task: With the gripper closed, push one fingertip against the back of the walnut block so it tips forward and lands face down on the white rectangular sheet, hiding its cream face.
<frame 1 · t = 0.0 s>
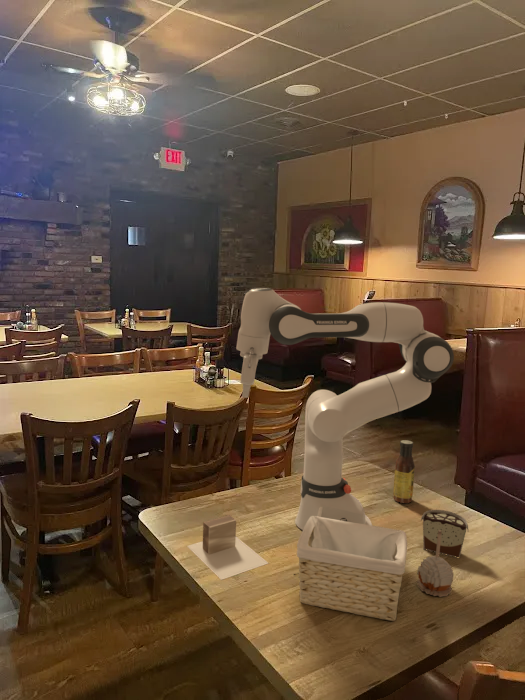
hand: (245, 392, 155), 39 cm above the table, tool pointing down, fingers open, 8 cm apart
candy apple: (433, 589, 132), on the table
food container: (442, 549, 151), on the table
storage basket: (349, 596, 128), on the table
sauce bottle: (402, 500, 180), on the table
white rectangular sheet: (226, 555, 142), on the table
walnut block: (219, 547, 145), resting on white rectangular sheet
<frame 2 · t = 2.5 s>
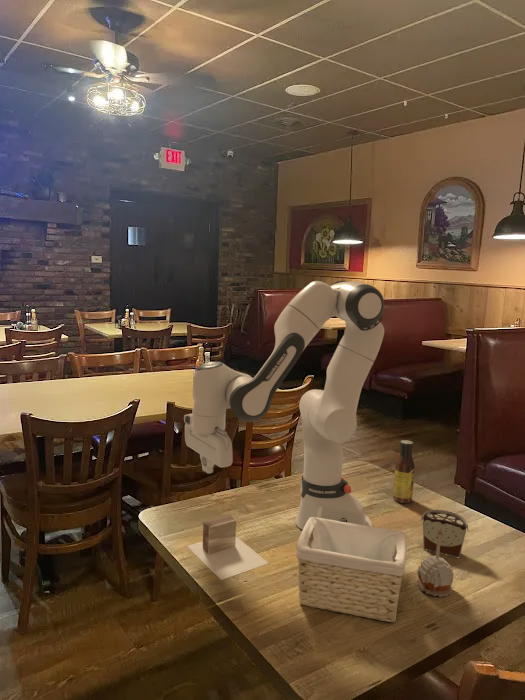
hand: (207, 471, 148), 19 cm above the table, tool pointing down, fingers closed
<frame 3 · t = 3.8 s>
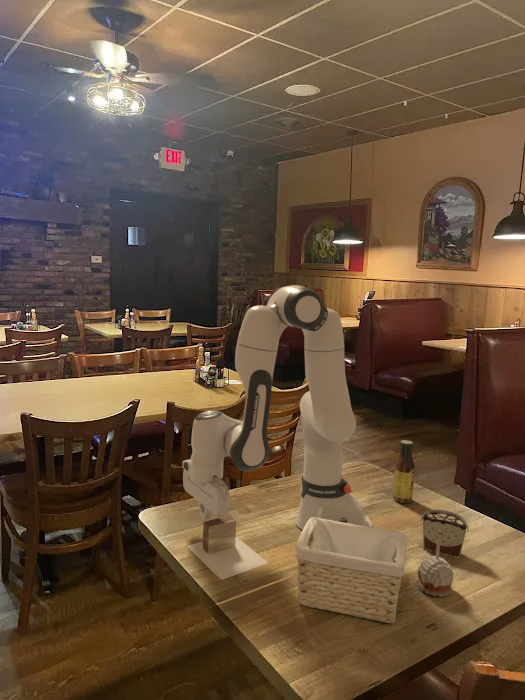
hand: (205, 517, 150), 6 cm above the table, tool pointing down, fingers closed
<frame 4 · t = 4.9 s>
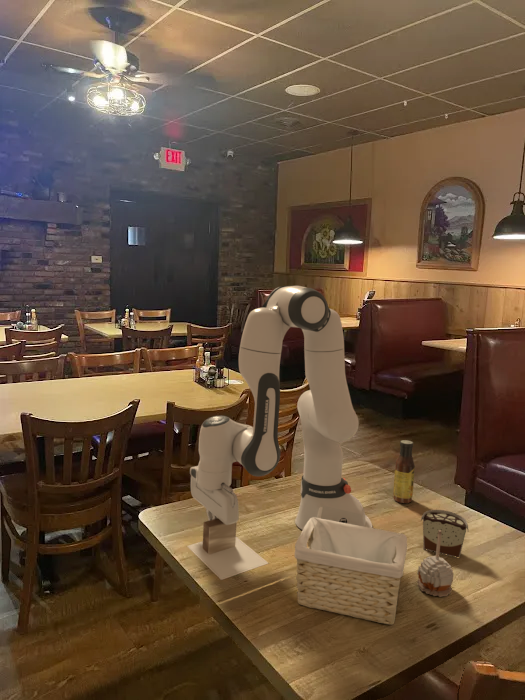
hand: (213, 525, 147), 5 cm above the table, tool pointing down, fingers closed
walnut block: (219, 547, 145), resting on white rectangular sheet, touching gripper
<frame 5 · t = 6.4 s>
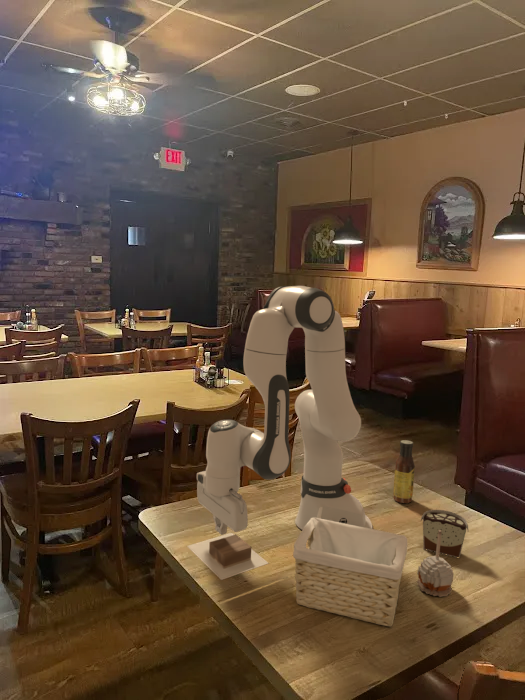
hand: (220, 532, 144), 5 cm above the table, tool pointing down, fingers closed
walnut block: (222, 544, 144), point 2 cm above the table, tilted 90°, touching white rectangular sheet
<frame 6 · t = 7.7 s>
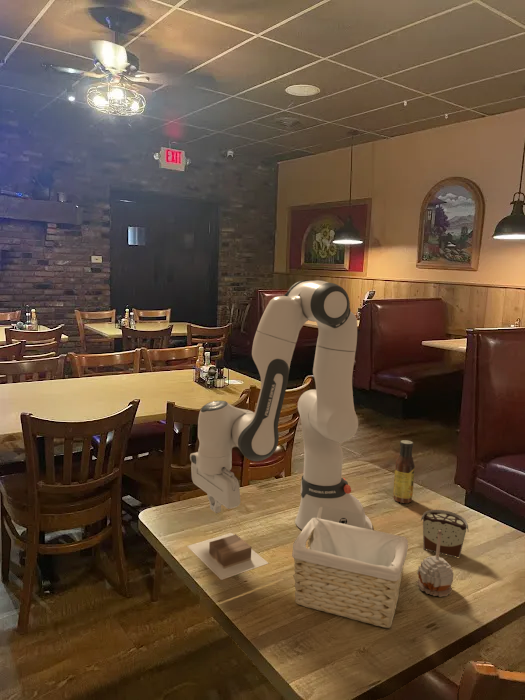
hand: (215, 510, 148), 9 cm above the table, tool pointing down, fingers closed
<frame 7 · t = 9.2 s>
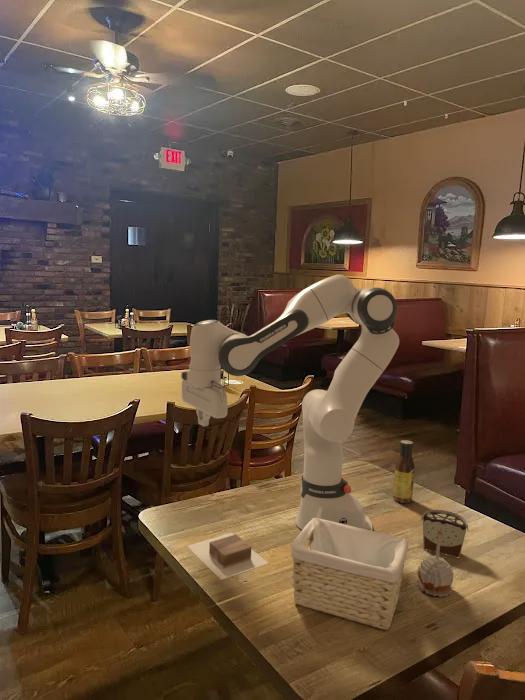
hand: (203, 425, 156), 29 cm above the table, tool pointing down, fingers closed
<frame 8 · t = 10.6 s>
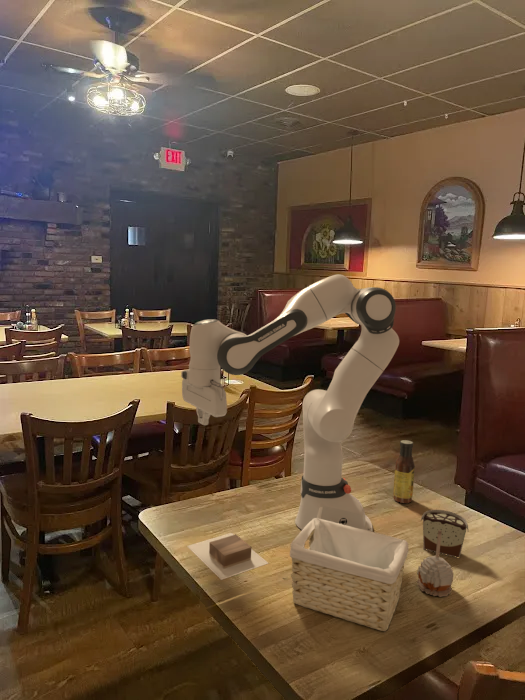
hand: (203, 423, 157), 29 cm above the table, tool pointing down, fingers closed
at the end: walnut block tilted 90°; walnut block inside the target area (0.1 cm from its centre), point 2.1 cm above the table; walnut block touching white rectangular sheet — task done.
